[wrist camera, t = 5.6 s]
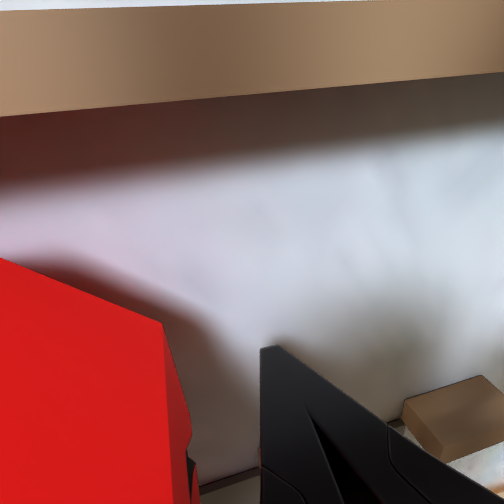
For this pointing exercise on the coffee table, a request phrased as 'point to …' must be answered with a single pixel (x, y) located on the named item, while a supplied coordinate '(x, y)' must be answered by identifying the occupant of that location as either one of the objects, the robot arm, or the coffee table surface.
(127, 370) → the ball
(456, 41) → the trap lane
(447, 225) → the coffee table surface
